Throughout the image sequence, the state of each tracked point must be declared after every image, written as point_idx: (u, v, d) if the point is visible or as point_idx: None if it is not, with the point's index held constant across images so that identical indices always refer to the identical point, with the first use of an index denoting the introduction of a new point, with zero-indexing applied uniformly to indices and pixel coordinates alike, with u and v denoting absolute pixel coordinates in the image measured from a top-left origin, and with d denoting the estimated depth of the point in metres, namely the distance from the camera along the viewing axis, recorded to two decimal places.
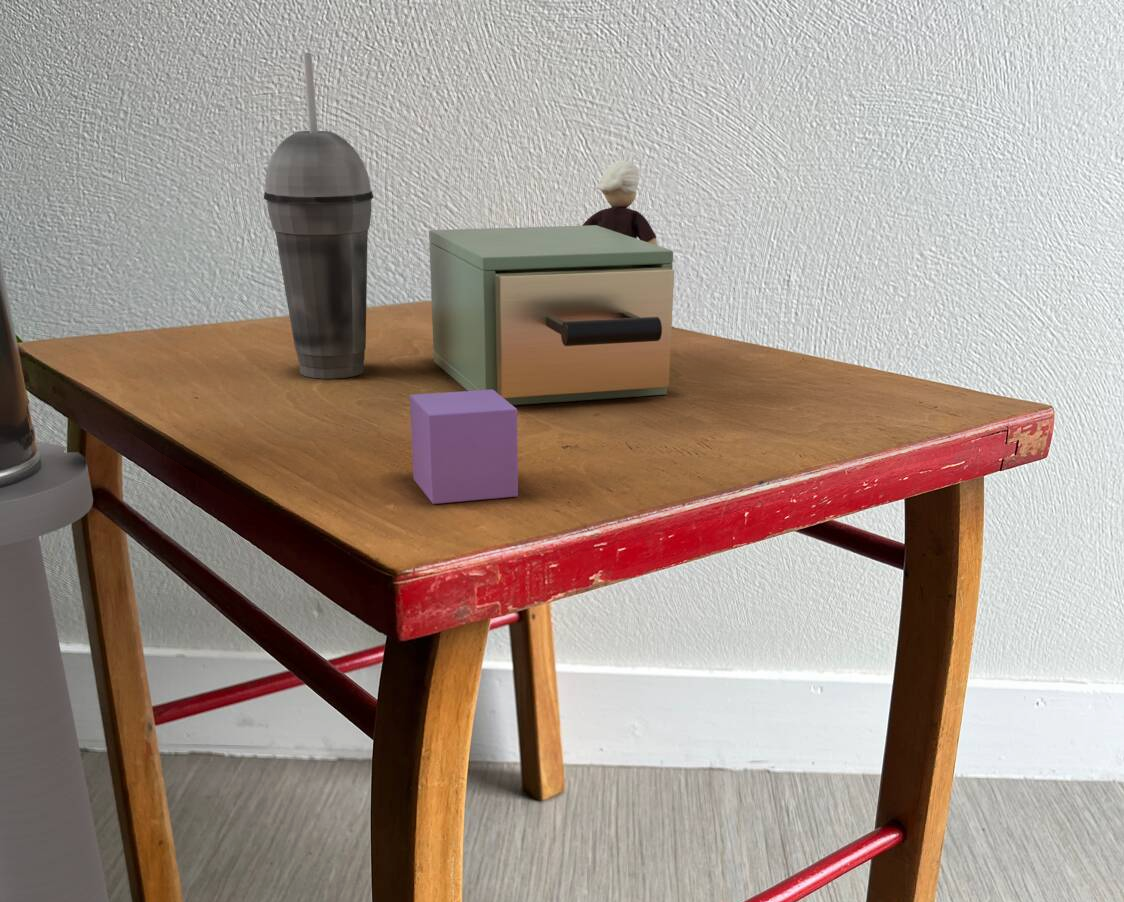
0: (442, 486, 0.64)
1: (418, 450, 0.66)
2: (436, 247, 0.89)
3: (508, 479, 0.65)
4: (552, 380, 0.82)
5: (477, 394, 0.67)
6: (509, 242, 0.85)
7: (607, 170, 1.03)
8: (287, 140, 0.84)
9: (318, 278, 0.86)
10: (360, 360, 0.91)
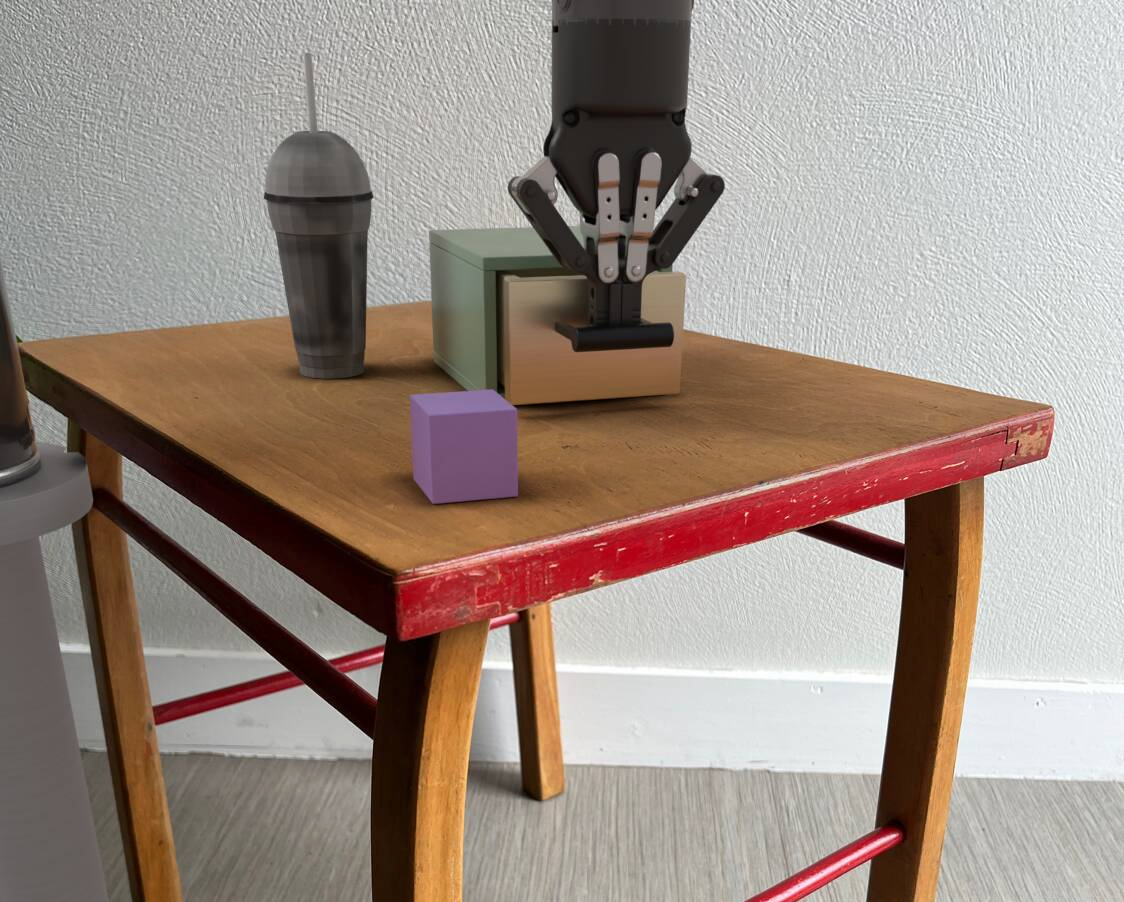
0: (442, 486, 0.64)
1: (418, 450, 0.66)
2: (436, 247, 0.89)
3: (508, 479, 0.65)
4: (561, 386, 0.80)
5: (477, 394, 0.67)
6: (509, 242, 0.85)
7: None
8: (287, 140, 0.84)
9: (318, 278, 0.86)
10: (360, 360, 0.91)
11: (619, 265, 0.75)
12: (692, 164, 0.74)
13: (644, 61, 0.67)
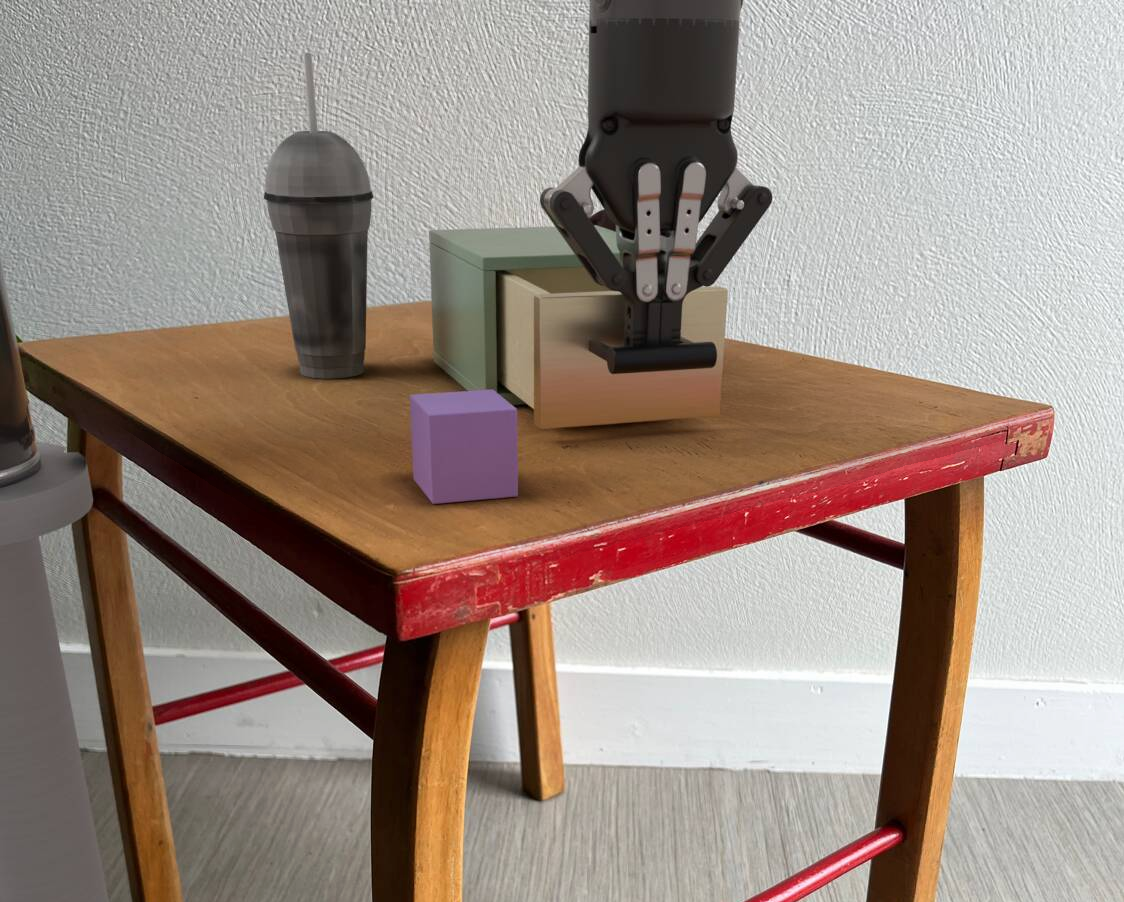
0: (442, 486, 0.64)
1: (418, 450, 0.66)
2: (436, 247, 0.89)
3: (508, 479, 0.65)
4: (594, 409, 0.75)
5: (477, 394, 0.67)
6: (509, 242, 0.85)
7: None
8: (287, 140, 0.84)
9: (318, 278, 0.86)
10: (360, 360, 0.91)
11: (658, 282, 0.70)
12: (738, 175, 0.68)
13: (690, 64, 0.62)
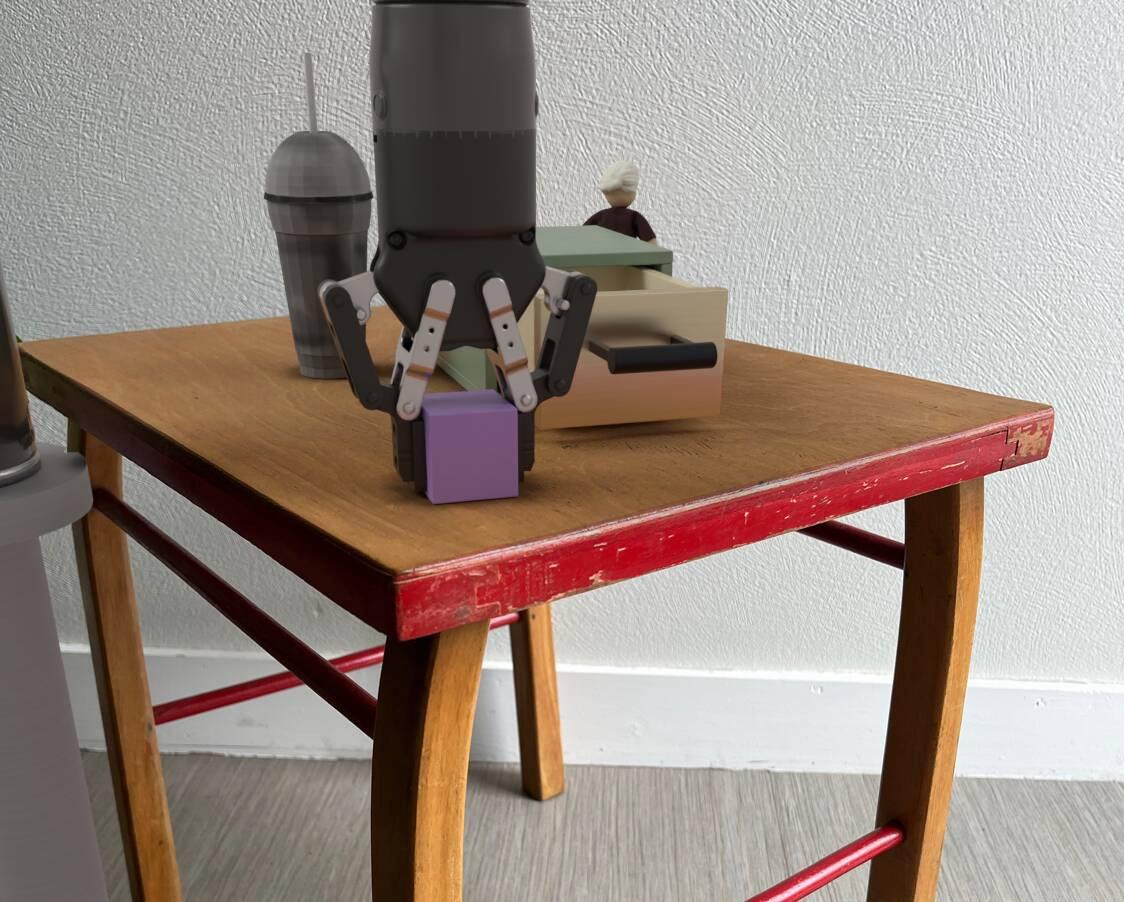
0: (442, 486, 0.64)
1: None
2: None
3: (508, 479, 0.65)
4: (595, 409, 0.75)
5: (477, 394, 0.67)
6: None
7: (607, 170, 1.03)
8: (287, 140, 0.84)
9: (318, 278, 0.86)
10: None
11: (508, 396, 0.66)
12: (552, 274, 0.63)
13: (474, 179, 0.57)
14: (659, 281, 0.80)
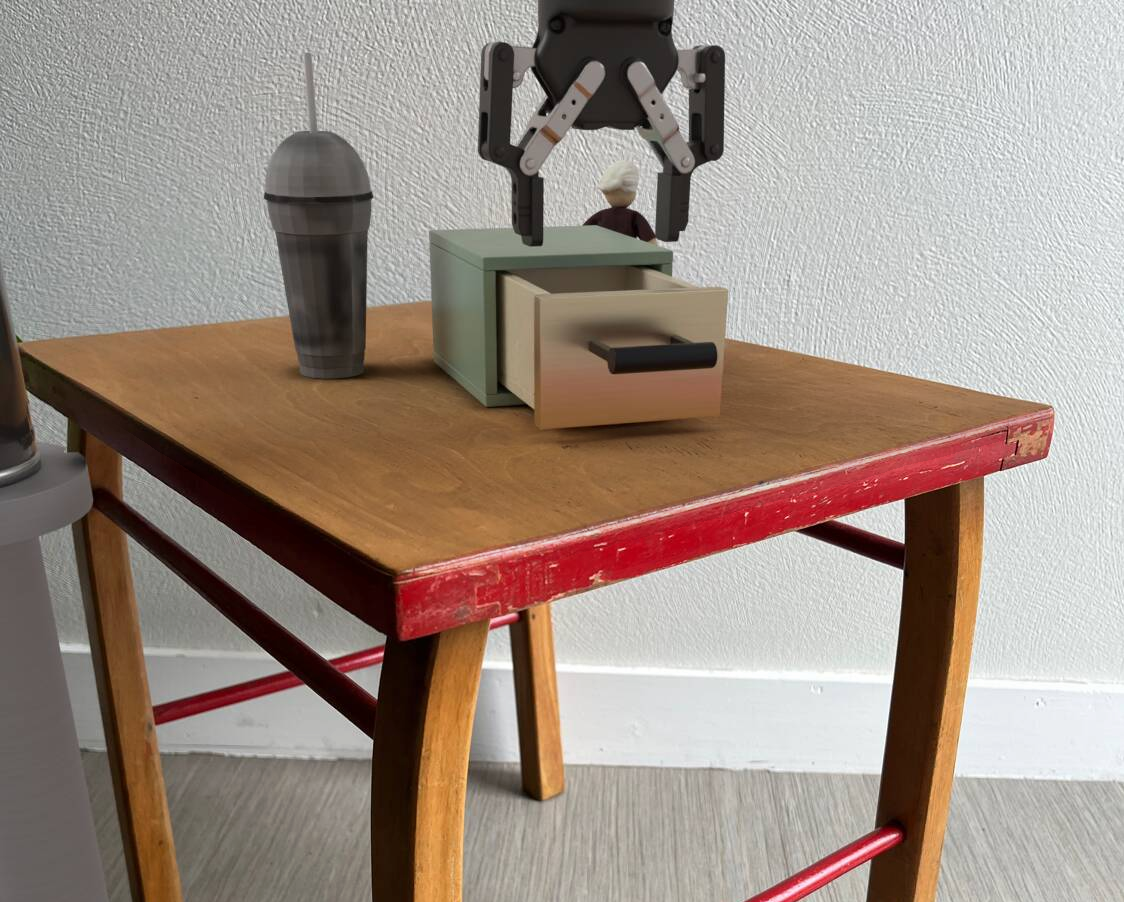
0: None
1: None
2: (436, 247, 0.89)
3: None
4: (595, 409, 0.75)
5: None
6: (509, 242, 0.85)
7: (607, 170, 1.03)
8: (287, 140, 0.84)
9: (318, 278, 0.86)
10: (360, 360, 0.91)
11: (668, 165, 0.76)
12: (684, 55, 0.73)
13: None
14: (659, 281, 0.80)
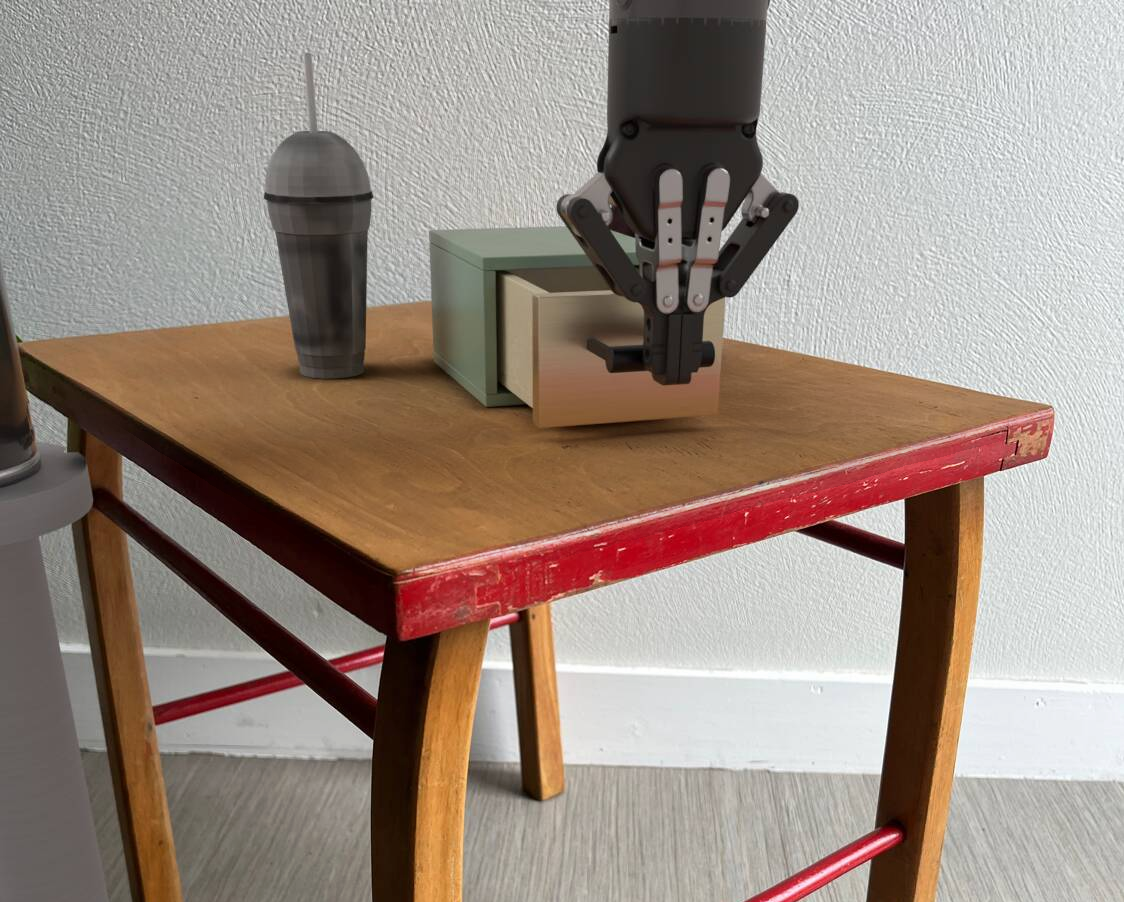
0: None
1: None
2: (436, 247, 0.89)
3: None
4: (593, 408, 0.75)
5: None
6: (509, 242, 0.85)
7: None
8: (287, 140, 0.84)
9: (318, 278, 0.86)
10: (360, 360, 0.91)
11: (679, 293, 0.67)
12: (763, 181, 0.66)
13: (715, 66, 0.59)
14: None
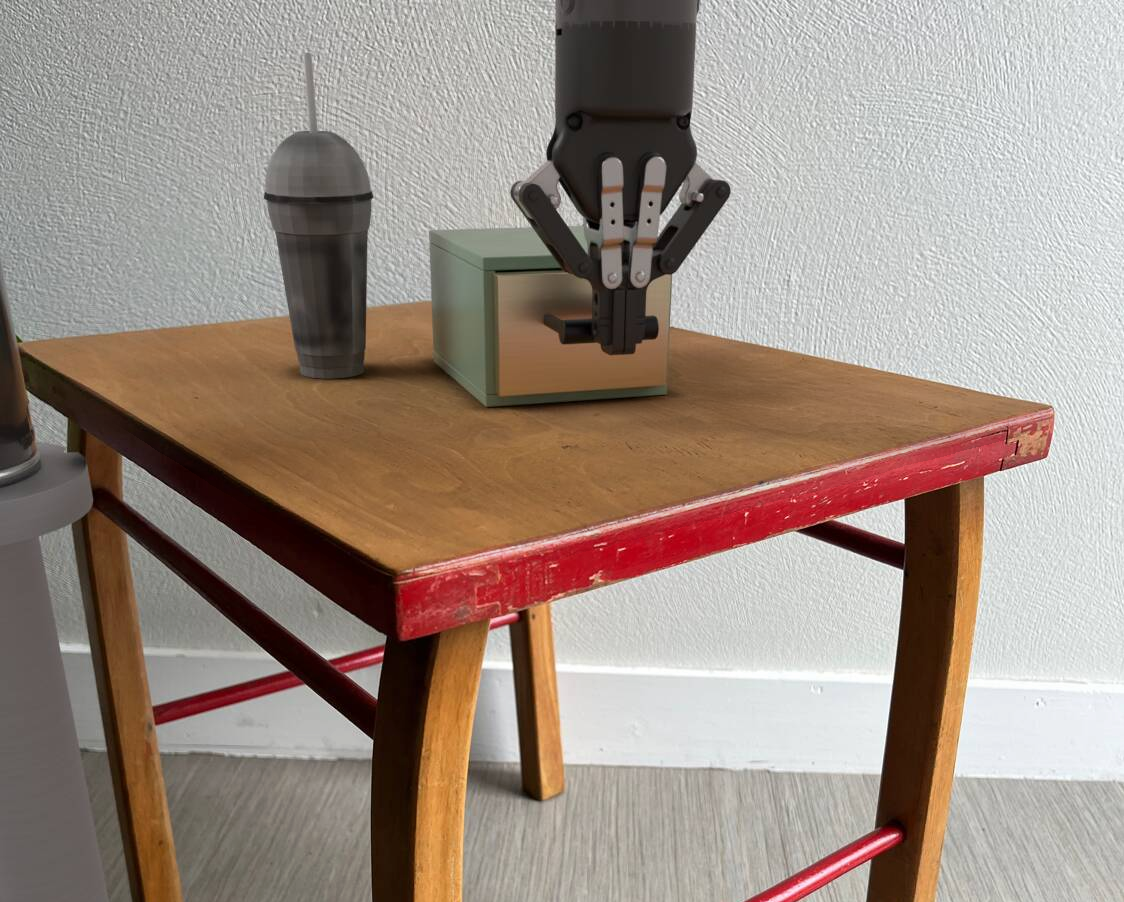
0: None
1: None
2: (436, 247, 0.89)
3: None
4: (550, 378, 0.82)
5: None
6: (509, 242, 0.85)
7: None
8: (287, 140, 0.84)
9: (318, 278, 0.86)
10: (360, 360, 0.91)
11: (623, 271, 0.74)
12: (697, 169, 0.73)
13: (648, 64, 0.66)
14: None
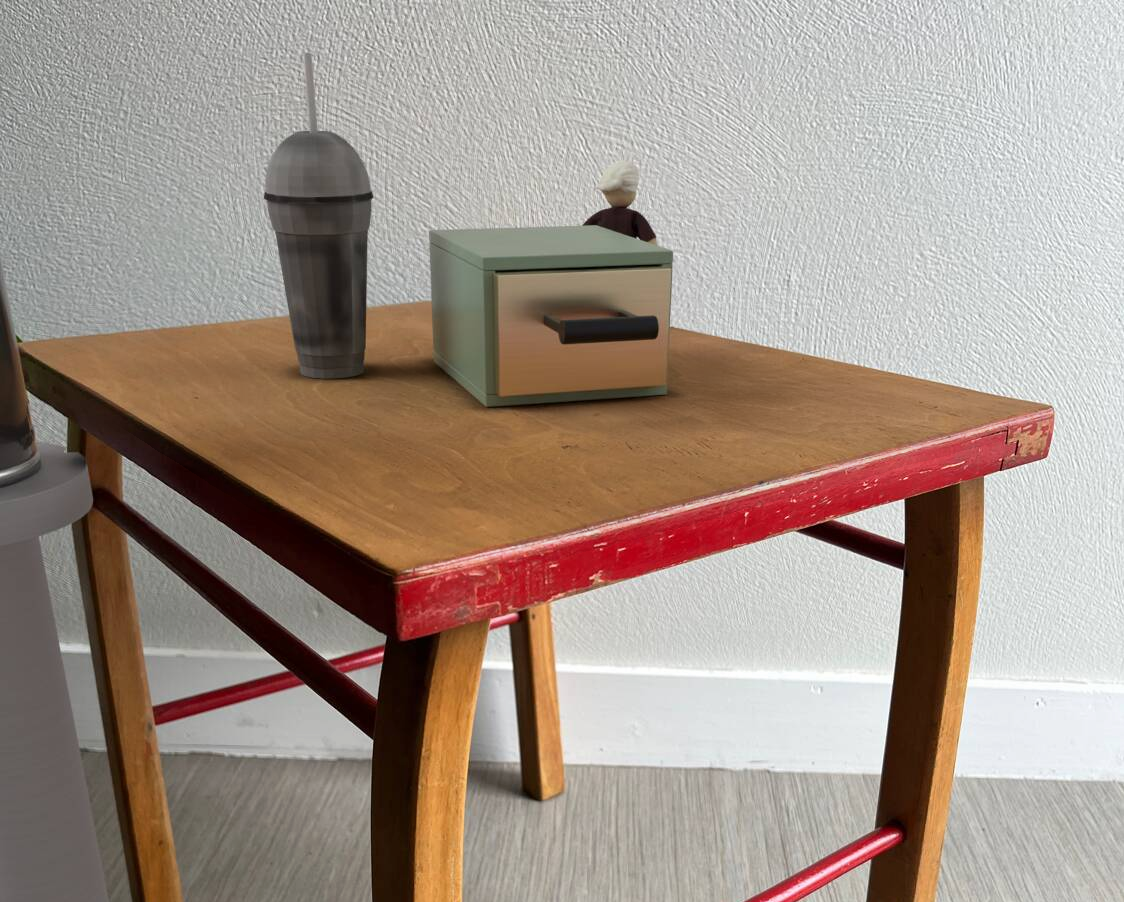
0: None
1: None
2: (436, 247, 0.89)
3: None
4: (550, 378, 0.82)
5: None
6: (509, 242, 0.85)
7: (607, 170, 1.03)
8: (287, 140, 0.84)
9: (318, 278, 0.86)
10: (360, 360, 0.91)
11: None
12: None
13: None
14: None
